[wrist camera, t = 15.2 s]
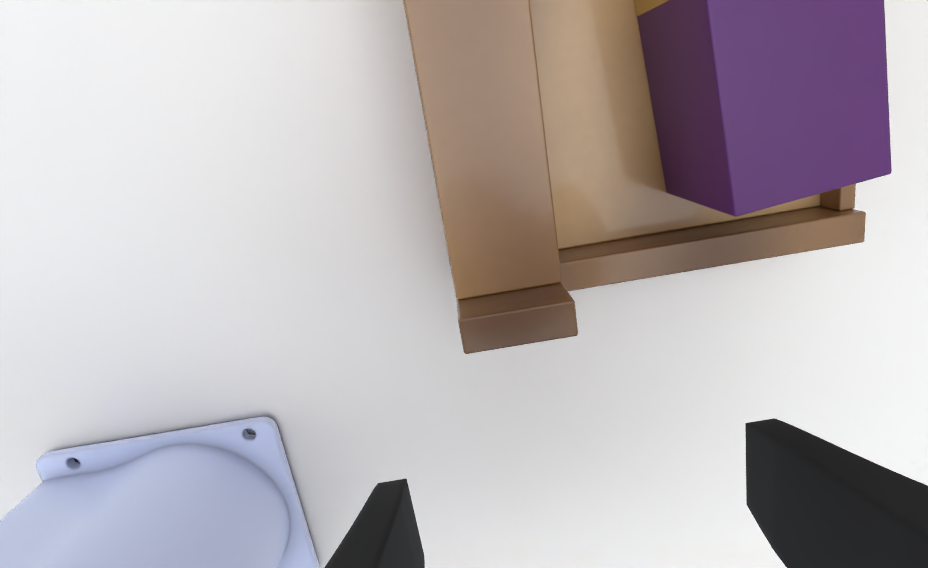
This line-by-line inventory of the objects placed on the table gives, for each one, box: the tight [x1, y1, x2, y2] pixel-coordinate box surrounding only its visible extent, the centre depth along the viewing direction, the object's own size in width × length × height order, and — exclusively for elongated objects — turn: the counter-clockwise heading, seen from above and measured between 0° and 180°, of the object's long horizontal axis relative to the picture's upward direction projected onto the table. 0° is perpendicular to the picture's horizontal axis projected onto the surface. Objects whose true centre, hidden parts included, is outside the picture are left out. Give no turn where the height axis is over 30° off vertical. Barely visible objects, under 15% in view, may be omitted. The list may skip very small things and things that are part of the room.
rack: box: [403, 0, 866, 354], centre depth 15 cm, size 13×14×6 cm
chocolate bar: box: [634, 0, 891, 217], centre depth 15 cm, size 4×9×4 cm, turn 16°
